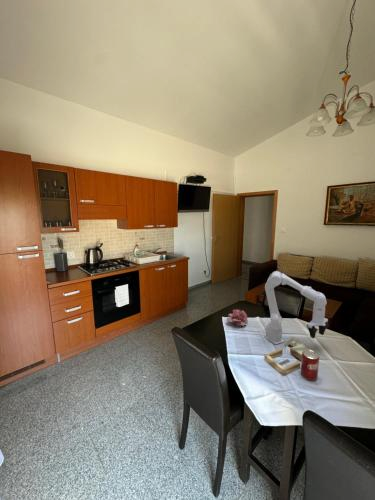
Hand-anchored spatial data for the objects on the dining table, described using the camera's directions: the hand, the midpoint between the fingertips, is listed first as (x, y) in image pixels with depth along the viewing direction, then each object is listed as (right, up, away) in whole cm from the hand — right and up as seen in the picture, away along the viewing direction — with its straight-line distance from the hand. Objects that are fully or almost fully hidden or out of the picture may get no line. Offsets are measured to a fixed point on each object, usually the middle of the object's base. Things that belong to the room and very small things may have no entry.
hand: (316, 335), depth 124 cm
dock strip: (-24, -11, -9) cm, 28 cm away
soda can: (-15, -13, -18) cm, 26 cm away
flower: (-39, -4, +32) cm, 50 cm away
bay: (-24, -11, -9) cm, 28 cm away
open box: (-11, -10, -3) cm, 15 cm away
